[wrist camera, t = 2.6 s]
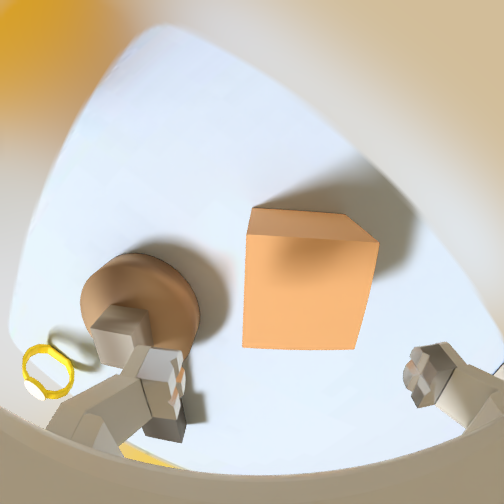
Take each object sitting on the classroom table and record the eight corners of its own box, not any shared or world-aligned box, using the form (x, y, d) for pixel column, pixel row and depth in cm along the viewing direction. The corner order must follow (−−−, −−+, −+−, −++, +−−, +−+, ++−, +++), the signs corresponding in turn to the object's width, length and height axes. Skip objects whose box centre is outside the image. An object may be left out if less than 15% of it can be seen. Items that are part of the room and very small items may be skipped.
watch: (39, 345, 23) (11, 376, 18) (41, 331, 23) (10, 363, 17) (79, 377, 24) (55, 413, 19) (83, 365, 24) (57, 403, 18)
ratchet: (197, 257, 19) (174, 295, 14) (209, 427, 25) (201, 469, 20) (87, 249, 19) (44, 279, 14) (131, 413, 26) (116, 450, 20)
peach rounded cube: (345, 214, 18) (379, 242, 12) (332, 297, 20) (354, 349, 14) (252, 207, 18) (246, 234, 12) (248, 293, 20) (242, 347, 14)
